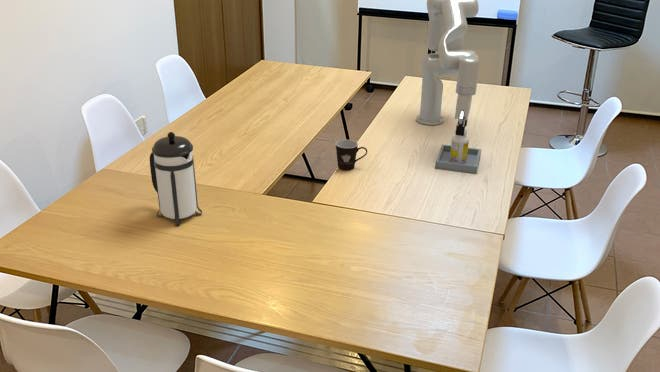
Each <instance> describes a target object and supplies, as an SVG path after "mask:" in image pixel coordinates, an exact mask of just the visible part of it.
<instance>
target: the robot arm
mask: <svg viewBox="0 0 660 372" xmlns="http://www.w3.org/2000/svg"><path fill="white" fill-rule="evenodd" d="M426 10H427V13H428V19H429V21H428V28H427V29H428V30H427V31H428V32H427V42H426V45H427V49H428V50H430V51H431V53H428V54H425V55H424V56H423V57H422V59H421V71H422V72H421V73H422V74H421V76H422V81H421V82H422V83H421V96H420V108H419V114H418V115H417V116H416V118H415V121H416V122H417V123H419V124H421V125H426V126H438V125H439V126H440V125H441V124H443V123H444V118H443V117H442V116H441V113H442V105H443V104H442V101H443V93H444V92H443V91H444V83H443V80H442V79H441V78H440V77H439V76H444V75H445V76H447V75H449V76H451V75H457V77H456V86H455V93H456V94H457V97H456V98H457V99H456V106H455V112H454V113H455V114H454V119H455V120H457V124H456V127H455V130H456V135H459V136H464V131H465V130H466V127H467V125H468V118H469V114H470V111H471V106H472V100H473V96H475V95H476V93H477V86H478V85H477V84H478V78H479V72H480V71H479V69H480V59H479V57H478V54H477V52H476V51H474V50H467V49H466V50H465V49H464V47H465V46H464V45H465V35H466V33H467V32H468V30H469V27H468V21H467V18H475V17H476V16H477V15H478V12H479V2H478V0H426ZM432 52H433V53H432ZM434 52H435V53H434ZM436 52H437V53H436Z"/></svg>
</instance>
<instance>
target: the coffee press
mask: <svg viewBox="0 0 660 372" xmlns="http://www.w3.org/2000/svg"><path fill="white" fill-rule="evenodd" d="M193 150H194V145H193V144H192V142H191V141H190V140H189V138H186V137H185V136H181V135H176V134H175V132H172V131H170V132H168V133H167V136H164V137H161V138H159V139H157V140H156V141H155V142H154V144H153V146H152V147H151V153H150V155H149V167H150V168H149V169H150V176H151V182H152V186H153V189H154V190H155V192H156V193H157V199H158V207H159V210H158V211H157V212H156V217H157V218H161V217H162V216H164V217H165V218H168V219H170V220H174V224H175V226H180V224H181V222H180V221H181V220H182V219H186V218H188V217H191V216H193V215H194V214H196V215H197V216H199V217H200V216H202V214H203V210H202V209H201V208H200V206H199V204H198V203H199V202H198V192H197V182H196V170H195V162H194V161H195V160H194V155H193ZM198 211H199V212H198ZM159 212H160V214H159Z"/></svg>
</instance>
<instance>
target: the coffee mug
mask: <svg viewBox="0 0 660 372" xmlns="http://www.w3.org/2000/svg"><path fill="white" fill-rule="evenodd" d="M358 146H359V143H358V141H356V140H352V139H340V140H337V141H336V142H335V151H336V161H337V169H338V170H339V171H340V170H341V171H344V172H348V171H349V172H351V171H353V170H354V169H355V165H356V162H358V161H360V160H361V159H363V158H364V157H365V156H367V154H368V149H367V147H364V146H360V147H358ZM361 149H363V150H365V154H363V155H362V156H360V157H358V158H357V153H358V151H360V150H361Z"/></svg>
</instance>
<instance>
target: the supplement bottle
mask: <svg viewBox="0 0 660 372" xmlns="http://www.w3.org/2000/svg"><path fill="white" fill-rule="evenodd" d="M454 130H455V131H454V135H453V136H452V137H451V143H450V145H451V153H450V160H451V161H452V162H453V163H460V164H461V163H465V162H466V161H467V153H468V148H469V145H470V143H469V142H470V140H469V137H468V136H467V135H468V131H467V129H465V131H464V136H459V135H456V129H454Z"/></svg>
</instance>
